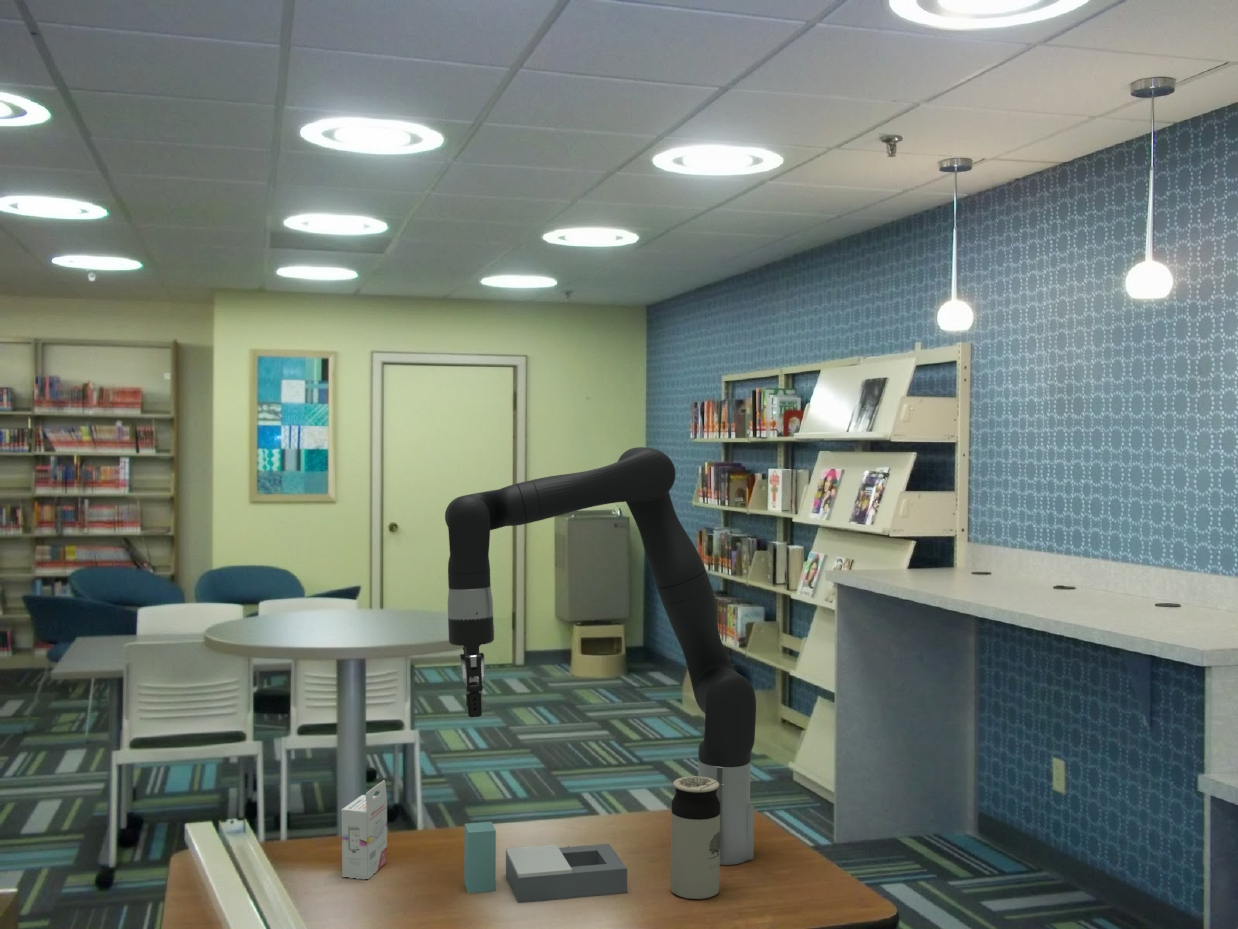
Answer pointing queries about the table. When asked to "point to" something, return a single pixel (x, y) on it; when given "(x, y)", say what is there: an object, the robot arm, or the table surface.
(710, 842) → the travel mug
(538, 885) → the rail
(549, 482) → the robot arm
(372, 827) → the ink cartridge box
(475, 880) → the teal peg
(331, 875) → the table surface
